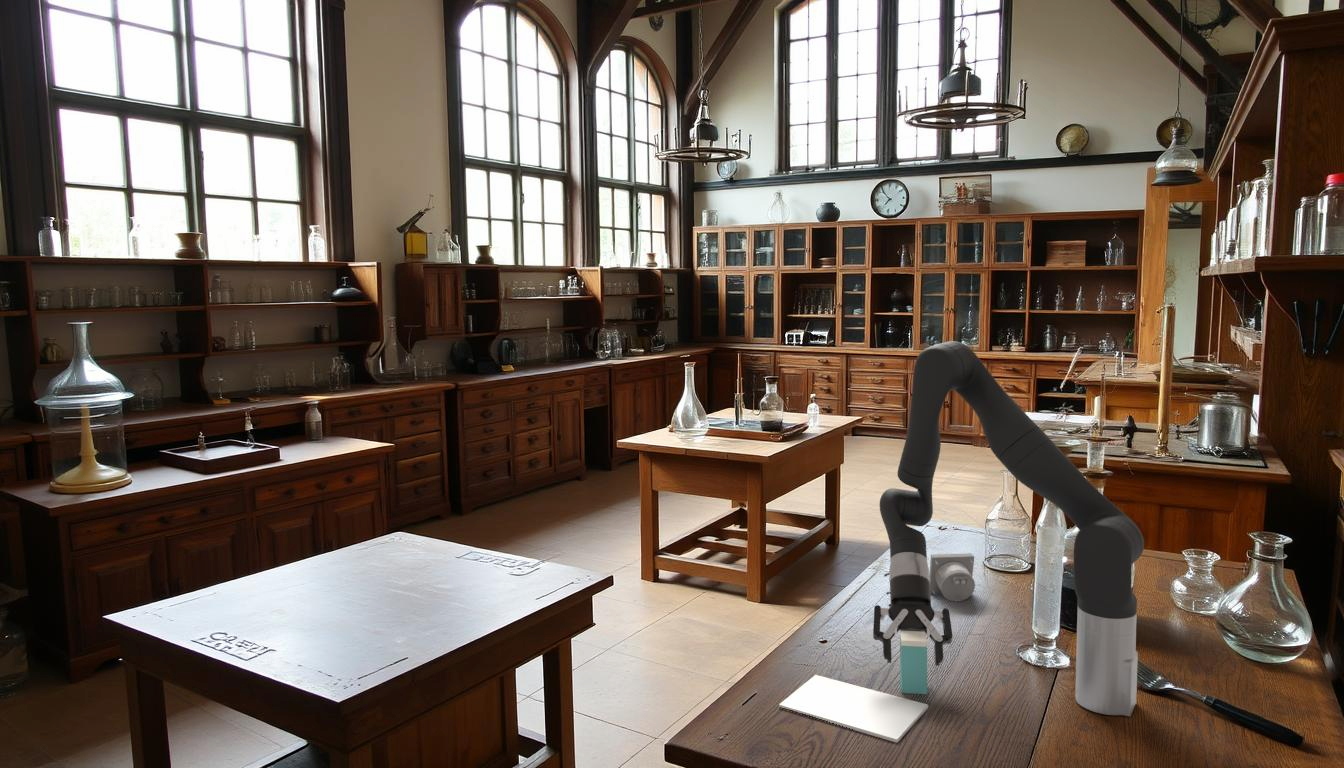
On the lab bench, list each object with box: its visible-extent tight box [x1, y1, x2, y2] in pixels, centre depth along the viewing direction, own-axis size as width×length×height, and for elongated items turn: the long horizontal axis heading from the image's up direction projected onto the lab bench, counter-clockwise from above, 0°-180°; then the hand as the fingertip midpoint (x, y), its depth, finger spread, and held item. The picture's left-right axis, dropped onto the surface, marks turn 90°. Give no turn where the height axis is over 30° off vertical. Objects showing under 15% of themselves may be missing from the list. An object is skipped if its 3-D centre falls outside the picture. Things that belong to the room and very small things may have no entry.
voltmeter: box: [883, 552, 976, 607], centre depth 203 cm, size 27×11×10 cm, turn 125°
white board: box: [778, 674, 929, 744], centre depth 156 cm, size 22×14×1 cm, turn 54°
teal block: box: [899, 630, 928, 695], centre depth 163 cm, size 4×4×10 cm
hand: (913, 662), depth 162 cm, fingers open, 8 cm apart
